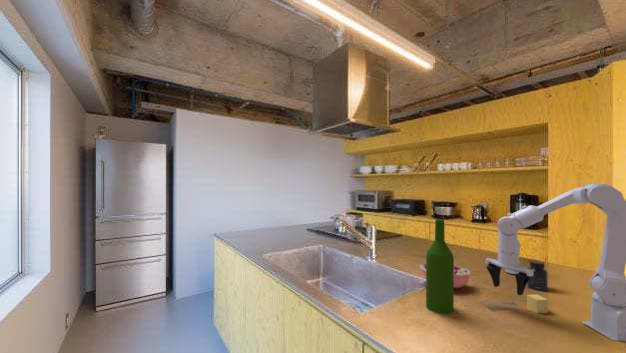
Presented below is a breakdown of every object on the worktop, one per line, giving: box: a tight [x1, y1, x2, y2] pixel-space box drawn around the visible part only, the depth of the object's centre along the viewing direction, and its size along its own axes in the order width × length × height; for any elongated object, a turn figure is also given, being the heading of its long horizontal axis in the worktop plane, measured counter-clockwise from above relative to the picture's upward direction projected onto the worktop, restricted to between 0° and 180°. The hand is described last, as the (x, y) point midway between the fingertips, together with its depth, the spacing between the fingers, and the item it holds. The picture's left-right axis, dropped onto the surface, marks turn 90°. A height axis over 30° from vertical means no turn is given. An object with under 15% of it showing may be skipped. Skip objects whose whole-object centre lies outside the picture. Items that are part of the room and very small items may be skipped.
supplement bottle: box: [526, 260, 549, 292], centre depth 114 cm, size 7×7×12 cm
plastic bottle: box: [504, 240, 522, 275], centre depth 134 cm, size 6×7×20 cm
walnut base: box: [480, 301, 522, 313], centre depth 95 cm, size 12×12×1 cm
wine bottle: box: [425, 218, 455, 315], centre depth 97 cm, size 9×9×32 cm
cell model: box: [419, 262, 471, 289], centre depth 117 cm, size 17×20×11 cm
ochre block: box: [526, 294, 549, 314], centre depth 94 cm, size 4×4×6 cm
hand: (508, 290), depth 95 cm, fingers open, 7 cm apart
